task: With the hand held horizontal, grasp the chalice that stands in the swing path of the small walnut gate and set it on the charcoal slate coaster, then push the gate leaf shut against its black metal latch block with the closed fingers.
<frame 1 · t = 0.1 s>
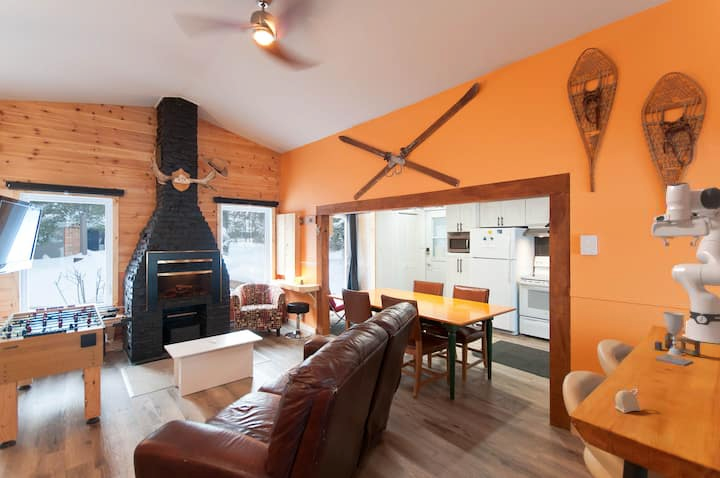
hand: (679, 246, 160), 48 cm above the table, tool pointing down, fingers open, 8 cm apart
decorative ornament: (628, 410, 99), on the table
gatepost: (670, 347, 160), on the table
latch block: (658, 349, 158), on the table
coaster: (674, 360, 142), on the table
chalice: (674, 354, 151), on the table
gate leaf: (681, 344, 153), point 3 cm above the table, hinge at 70.0°
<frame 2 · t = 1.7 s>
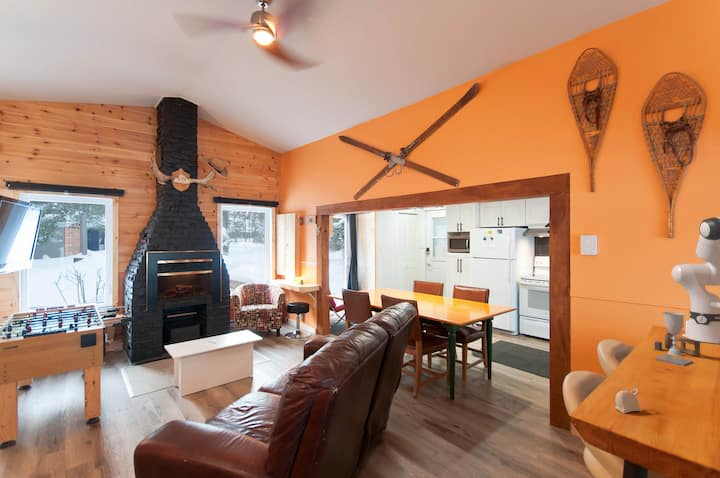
hand: (715, 303, 140), 24 cm above the table, tool horizontal, fingers open, 8 cm apart
nothing on the table moved.
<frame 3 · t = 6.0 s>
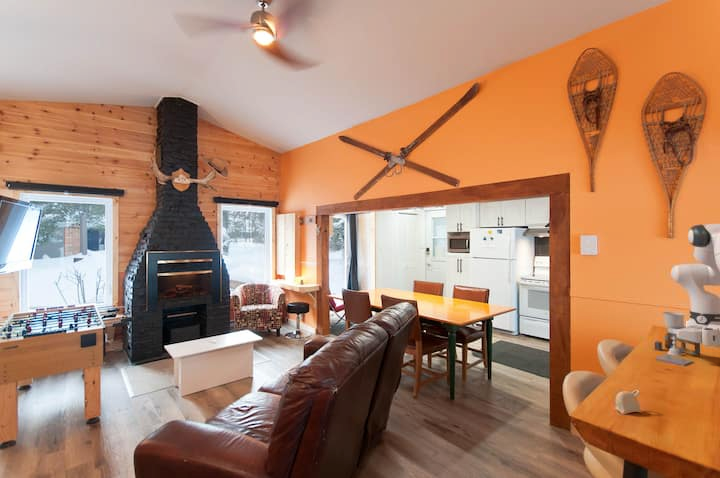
hand: (671, 328, 152), 11 cm above the table, tool horizontal, fingers closed on chalice, 6 cm apart
chalice: (674, 354, 151), on the table, touching gripper
when the fingers open (13 cm above the table, at t = 10.3 s): chalice stays where it is, resting on coaster.
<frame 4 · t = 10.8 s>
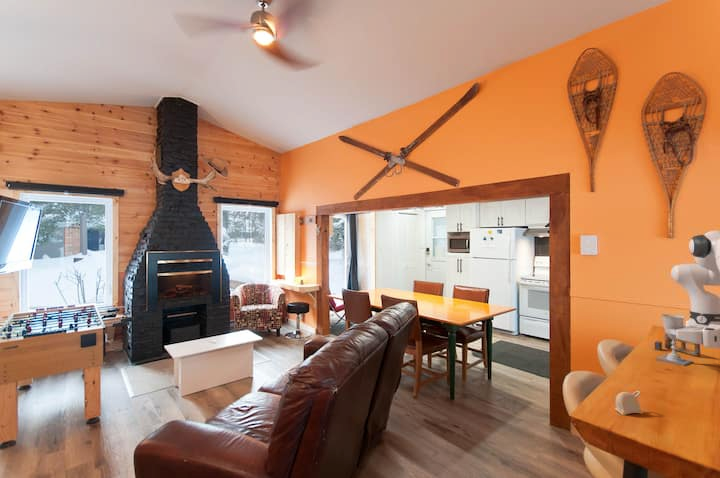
hand: (670, 328, 143), 13 cm above the table, tool horizontal, fingers open, 8 cm apart
chalice: (674, 359, 142), resting on coaster
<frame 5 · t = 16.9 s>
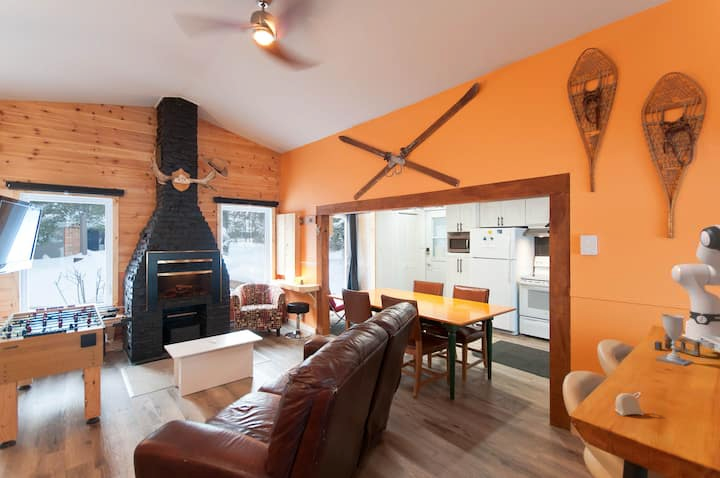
hand: (694, 342, 149), 5 cm above the table, tool horizontal, fingers closed
gate leaf: (681, 344, 153), point 4 cm above the table, hinge at 69.4°, touching gripper
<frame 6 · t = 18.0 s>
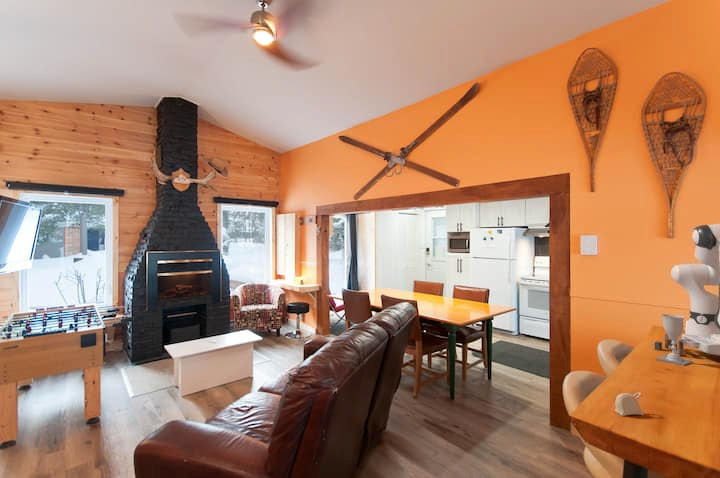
hand: (679, 341, 151), 5 cm above the table, tool horizontal, fingers closed, pressing on gate leaf
gate leaf: (673, 344, 154), point 3 cm above the table, hinge at 38.8°, touching gripper
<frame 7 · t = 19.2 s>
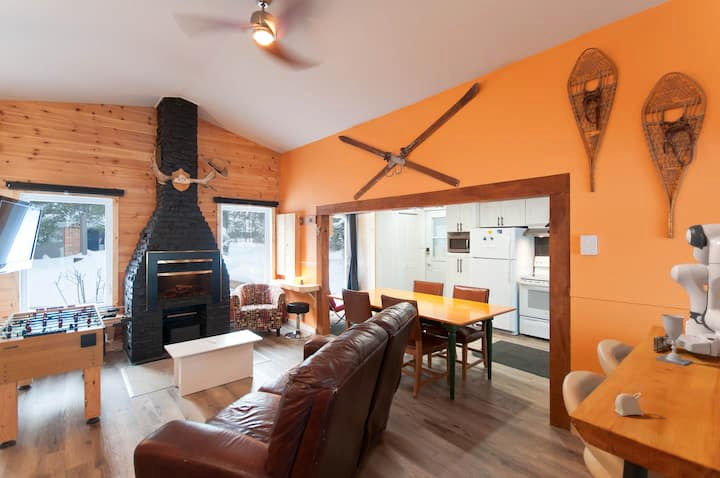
hand: (665, 340, 153), 5 cm above the table, tool horizontal, fingers closed
gate leaf: (662, 342, 156), point 3 cm above the table, hinge at -1.4°, touching gripper
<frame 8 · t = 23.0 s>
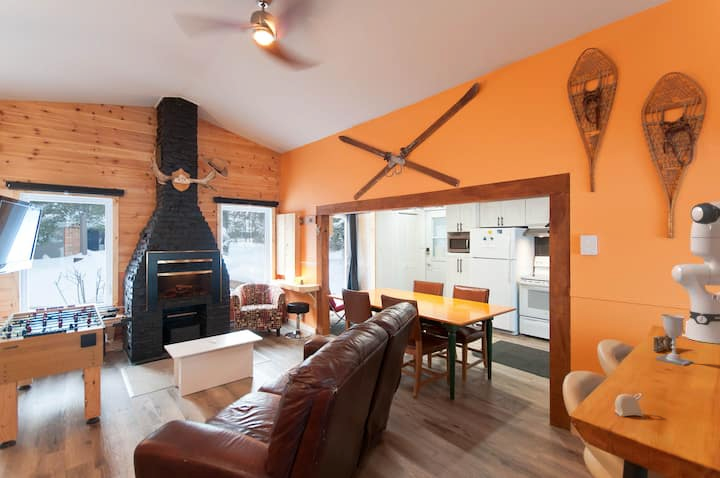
hand: (714, 297, 144), 26 cm above the table, tool horizontal, fingers closed
gate leaf: (662, 342, 156), point 3 cm above the table, hinge at -1.1°
at the end: gate leaf at -1° (first picture: +70°); chalice 0.1 cm off-centre on the coaster, point 0.4 cm above the coaster's base; chalice tilted 0° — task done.
